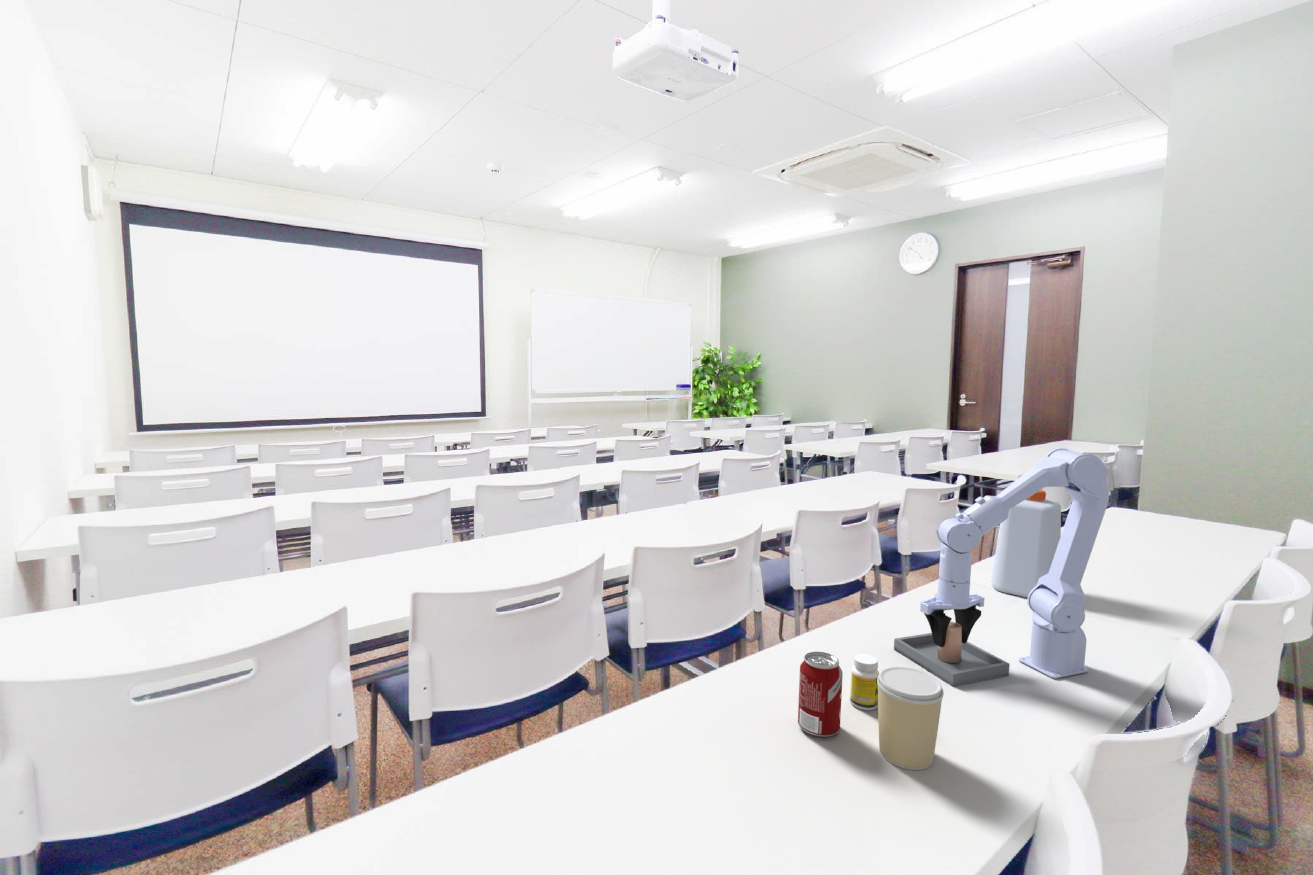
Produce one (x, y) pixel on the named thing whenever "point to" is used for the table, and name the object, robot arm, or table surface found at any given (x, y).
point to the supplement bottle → (864, 682)
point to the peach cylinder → (952, 644)
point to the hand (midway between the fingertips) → (950, 643)
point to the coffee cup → (908, 716)
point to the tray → (969, 670)
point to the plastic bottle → (1026, 544)
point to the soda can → (820, 694)
